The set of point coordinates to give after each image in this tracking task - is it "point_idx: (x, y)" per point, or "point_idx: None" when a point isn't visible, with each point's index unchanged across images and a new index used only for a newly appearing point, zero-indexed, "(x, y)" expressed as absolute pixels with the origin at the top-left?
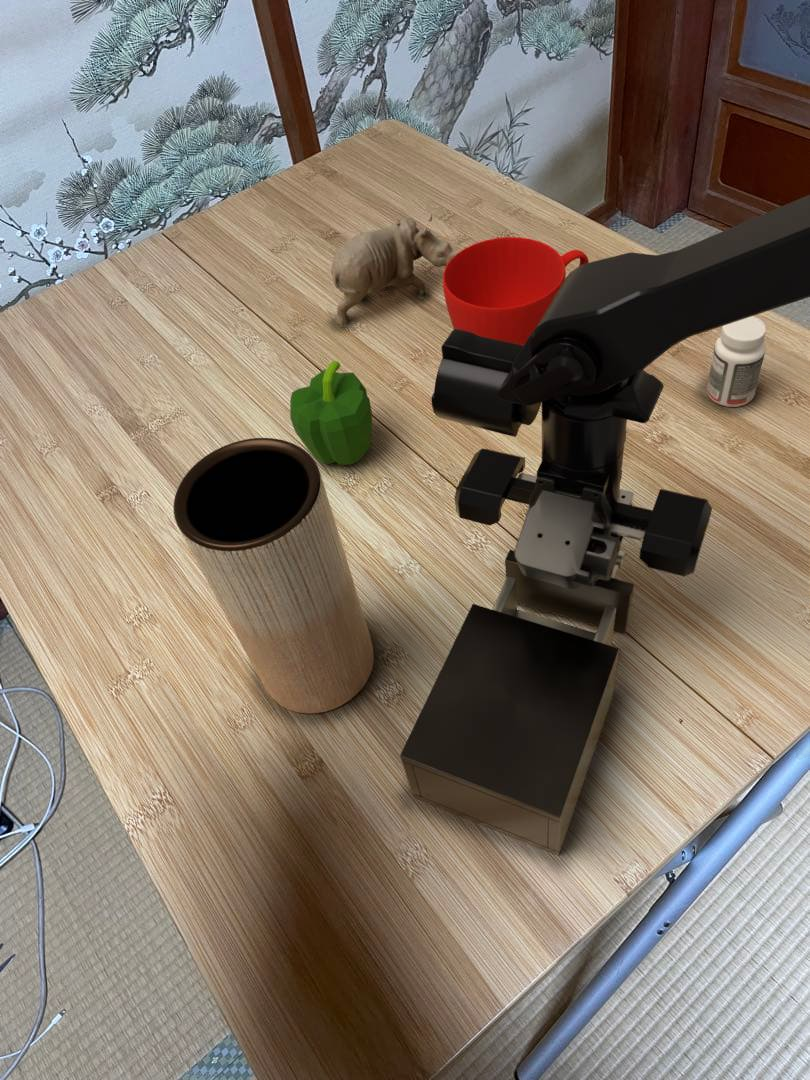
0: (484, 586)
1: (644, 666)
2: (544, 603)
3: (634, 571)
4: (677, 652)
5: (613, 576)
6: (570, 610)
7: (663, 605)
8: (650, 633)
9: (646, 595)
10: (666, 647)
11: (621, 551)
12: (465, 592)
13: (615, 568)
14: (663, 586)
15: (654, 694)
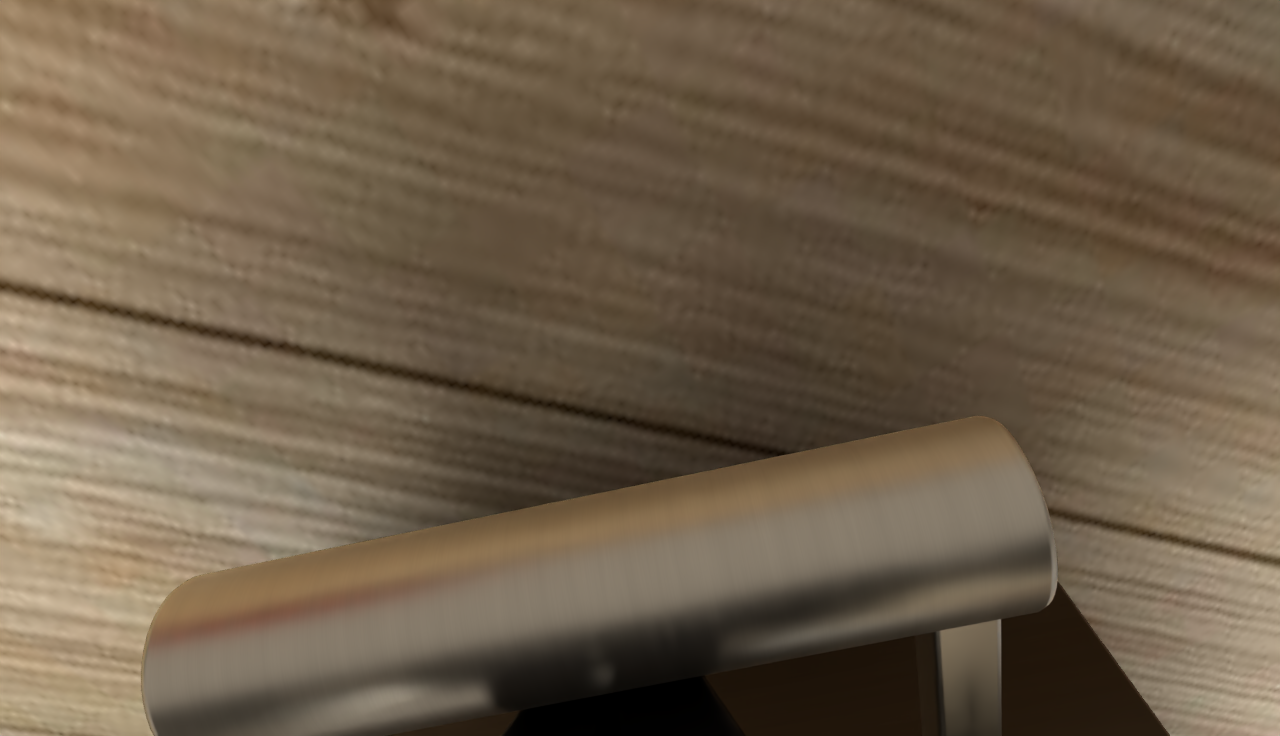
0: None
1: (1118, 593)
2: None
3: (884, 84)
4: (1269, 461)
5: (998, 717)
6: None
7: (1145, 239)
8: (1108, 439)
9: (1022, 227)
10: (1208, 465)
11: (1018, 554)
12: (130, 702)
13: (986, 650)
14: (1117, 95)
15: (1189, 668)
